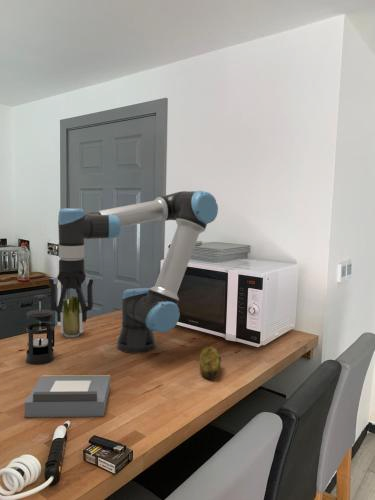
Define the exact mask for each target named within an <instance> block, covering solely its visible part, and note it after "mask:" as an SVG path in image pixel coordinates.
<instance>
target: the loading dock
mask: <svg viewBox="0 0 375 500" xmlns="http://www.w3.org/2000/svg"><path fill="white" fill-rule="evenodd" d="M110 388H111V374H90V375H89V374H88V375H87V374H85V375H83V374H82V375H81V374H75V375H74V374H72V375H71V374H68V375H67V374H65V375H64V374H62V375H61V374H60V375H59V374H58V375H57V374H55V375H53V374H51V375H50V374H48V375H47V374H44V375H41V376H40V378H39V379H38V380H37V382H36V383H35V385H34V387H33V388H32V390H31V392H30V393H29V395H28V397H27V398H26V400H25V401H24V418H55V417H56V418H61V417H63V418H65V417H66V418H67V417H68V418H69V417H71V418H73V417H74V418H75V417H76V418H77V417H81V418H82V417H104V416H105V412H106V407H107V402H108V397H109V393H110Z"/></svg>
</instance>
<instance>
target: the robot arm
mask: <svg viewBox="0 0 375 500" xmlns="http://www.w3.org/2000/svg"><path fill="white" fill-rule="evenodd" d="M218 205H219V204H218V203H217V200H216V198H215V197H214V195H212V194H211V193H210V192H208V191H202V190H196V191H195V190H194V191H193V190H191V191H187V190H185V191H184V190H183V191H177V192H174V193H171V194H167V195H162V196H158V197H156V198H155V199H154V200H151V201H150V200H149V201H145V202H140V203H134V204H128V205H124V206H123V205H122V206H118V207H113V208H107V209H102V210H97V211H90V212H87V213H86V212H85V211H84V209H83V208H71V207H70V208H69V207H68V208H66V207H65V208H61V209H59V211H58V219H57V220H58V221H57V224H58V225H57V226H58V258H59V260H58V275H57V276H56V277H51V278H50V279H49V280H48V283H49V286H50V310H51V311H53V312H56V317H57V318H56V320H57V323H60V334H63V333H64V330H63V313H64V310H62V309H63V300H64V299H66V298H67V297H66V296H67V292H68V290H70V289H74V290H75V292H76V294H77V297H78V299H79V302H80V306H81V311H80V313H79V322H80V334H83V332H84V323H86V321H87V318H88V316H87V315H88V313H87V312H88V311H91V310H92V309H93V306H94V305H93V303H94V300H93V299H94V298H93V285H94V281H95V279H94V277H87V276H86V273H85V260H84V258H85V240H90V239H94V240H95V239H98V240H99V239H115V238H118V237H119V236H120V233H121V231H122V228H126V227H130V226H131V227H132V226H134V225H139V224H145V223H149V222H150V223H151V222H153V221H160V222H166V221H175V222H176V224H177V227H176V229H175V233H174V235H173V237H172V240H171V243H170V246H169V248H168V250H167V253H166V256H165V259H164V261H163V264H162V267H161V269H160V271H159V275H158V277H157V279H156V282H155V285H154V286H152V287H149V288H148V287H139V288H128V289H125V290H124V291H122V292H123V293H122V299H121V301H122V303H121V304H122V305H121V307H122V310H121V311H122V314H121V315H122V316H121V322H122V323H121V329H120V332H119V334H118V338H117V341H116V347H117V349H118V350H119V351H121V352H125V353H130V354H142V353H147V352H151V351H153V350H155V349H156V345H157V339H156V337H155V333H154V332H156V333H159V334H163V333H168V332H169V331H171V330H173V329H174V328H175V326H177V324H178V322H179V319H180V316H181V313H180V308H179V307H178V304H179V301H180V299H179V298H180V297H178V292H179V289H180V286H181V284H182V281H183V278H184V276H185V273H186V271H187V268H188V265H189V262H190V260H191V257H192V255H193V251H194V249H195V247H196V243H197V241H198V238H199V235H200V234H201V233H203V232H205V231H206V228H207V226H208V225H209V224H211V223H213V222H214V221H215V220H216V218H217V217H218V212H219V206H218ZM59 282H60V284H61V285H62V289H61V293H60V296H59V301H58V300H57V299H58V298H57V297H58V294H57V291H58V290H57V289H58V287H57V284H58V283H59ZM84 282H85V284H86V285H87V291H86V292H87V293H86V295H87V297H86V298H87V302H86V299H85V297H84V296H85V295H84V292H83V290H82V289H83V287H82V285H83V284H84ZM57 302H58V304H57ZM86 303H87V304H86Z"/></svg>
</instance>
